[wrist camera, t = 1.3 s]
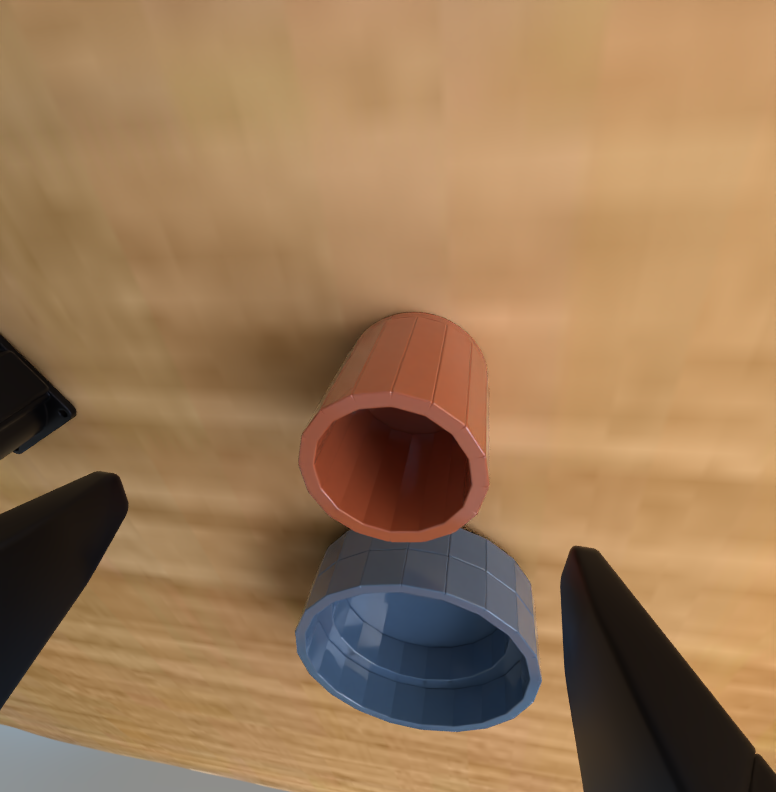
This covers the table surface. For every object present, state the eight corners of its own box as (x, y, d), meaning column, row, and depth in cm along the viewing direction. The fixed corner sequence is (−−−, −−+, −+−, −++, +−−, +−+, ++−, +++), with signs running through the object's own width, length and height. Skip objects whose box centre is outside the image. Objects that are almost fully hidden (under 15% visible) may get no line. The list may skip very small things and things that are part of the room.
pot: (396, 453, 25) (367, 561, 19) (321, 352, 22) (261, 439, 17) (513, 404, 22) (522, 512, 16) (442, 284, 20) (422, 358, 14)
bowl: (393, 664, 35) (380, 741, 31) (282, 547, 30) (248, 618, 26) (569, 630, 29) (582, 717, 25) (465, 480, 25) (460, 556, 21)
